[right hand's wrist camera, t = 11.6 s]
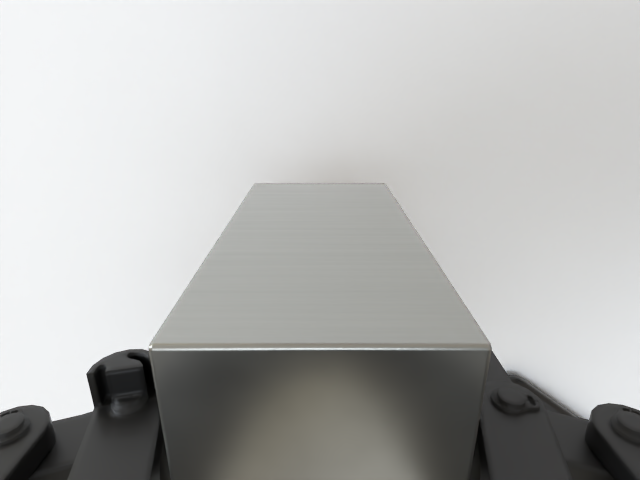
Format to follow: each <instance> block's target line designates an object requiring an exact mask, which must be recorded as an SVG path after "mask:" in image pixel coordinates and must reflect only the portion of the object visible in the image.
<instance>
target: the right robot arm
mask: <svg viewBox="0 0 640 480" xmlns="http://www.w3.org/2000/svg"><path fill="white" fill-rule="evenodd" d="M87 379H88V383H89V387H90V391H91V395H92V399H93V403H94V410H93V412H90V413H86V414H83V415H79V416H75V417H70V418H66V419H61V420H57V421H53V422H52V421H51V417H50V414H49V412H48V411H47V410H46V409H45V408H44V407H41V406H35V405H28V406H20V407H16V408H13V409H9V410H6V411H3V412H1V413H0V480H171V476H170V470H169V465H168V459H167V453H166V447H165V441H164V436H163V430H162V424H161V418H160V412H159V407H158V401H157V395H156V389H155V384H154V378H153V372H152V366H151V360H150V355H149V351H146V350H143V349H129V350H125V351H121V352H116V353H114V354H111V355H109V356H107V357H104V358H103V359H101V360H100V361H98V362H97V363H96V364H94V365H93V366H92V367H91V368H90V370H89V371H88V372H87ZM469 480H640V411H639V410H637V409H634V408H630V407H627V406H624V405H619V404H610V403H608V404H602V405H598V406H596V407H595V408H594V409H593V410H592V412H591V415H590V418H589V420H586V419H582V418H578V417H573V416H569V415H564V414H560V413H556V412H553V411H550V410H547V409H546V407H545V406H544V404H543V402H542V401H541V399H540V398H539V397H538V396H536V395H535V394H534V393H533V392H531V391H530V390H528V389H526V388H524V387H522V386H520V385H518V384H515V383H513V382H512V381H511V379H510V378H509V376H508V375H507V373H506V372H505V370H504V369H503V367H502V365H501V364H500V362H499V361H498V359H497V358H496V356H495V355H494V353H493V351H491V356H490V362H489V368H488V374H487V380H486V385H485V391H484V397H483V403H482V408H481V414H480V420H479V426H478V432H477V437H476V443H475V449H474V455H473V460H472V466H471V472H470V478H469Z"/></svg>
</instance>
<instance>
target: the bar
mask: <svg viewBox="0 0 640 480" xmlns="http://www.w3.org/2000/svg"><path fill="white" fill-rule="evenodd" d="M491 351H492V347H491V344H490V342H489V341H488V339H487V338H486V336H485V335H484V333H483V332H482V330H481V329H480V327H479V325H478V324H477V322H476V321H475V319H474V318H473V316H472V315H471V313H470V312H469V310H468V309H467V307H466V306H465V304H464V303H463V301H462V300H461V298H460V297H459V295H458V294H457V292H456V291H455V289H454V287H453V286H452V284H451V283H450V281H449V280H448V278H447V277H446V275H445V274H444V272H443V271H442V269H441V268H440V266H439V265H438V263H437V262H436V260H435V259H434V257H433V256H432V254H431V253H430V251H429V249H428V248H427V246H426V245H425V243H424V242H423V240H422V239H421V237H420V236H419V234H418V233H417V231H416V230H415V228H414V227H413V225H412V224H411V222H410V221H409V219H408V218H407V216H406V215H405V213H404V211H403V210H402V208H401V207H400V205H399V204H398V202H397V201H396V199H395V198H394V196H393V195H392V193H391V192H390V190H389V189H388V187H387V186H386V184H384V183H255V184H254V185H253V187H252V188H251V190H250V191H249V193H248V194H247V196H246V197H245V199H244V200H243V202H242V204H241V205H240V207H239V208H238V210H237V211H236V213H235V214H234V216H233V217H232V219H231V220H230V222H229V223H228V225H227V227H226V228H225V230H224V231H223V233H222V234H221V236H220V237H219V239H218V240H217V242H216V243H215V245H214V246H213V248H212V249H211V251H210V253H209V254H208V256H207V257H206V259H205V260H204V262H203V263H202V265H201V266H200V268H199V269H198V271H197V272H196V274H195V276H194V277H193V279H192V280H191V282H190V283H189V285H188V286H187V288H186V289H185V291H184V292H183V294H182V295H181V297H180V298H179V300H178V302H177V303H176V305H175V306H174V308H173V309H172V311H171V312H170V314H169V315H168V317H167V318H166V320H165V321H164V323H163V325H162V326H161V328H160V329H159V331H158V332H157V334H156V335H155V337H154V338H153V340H152V341H151V343H150V345H149V355H150V360H151V366H152V372H153V378H154V384H155V389H156V395H157V401H158V407H159V412H160V418H161V424H162V430H163V436H164V441H165V447H166V453H167V459H168V465H169V470H170V476H171V480H469V478H470V472H471V466H472V460H473V455H474V449H475V443H476V437H477V432H478V426H479V420H480V414H481V408H482V403H483V397H484V391H485V385H486V380H487V374H488V368H489V362H490V356H491Z"/></svg>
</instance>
